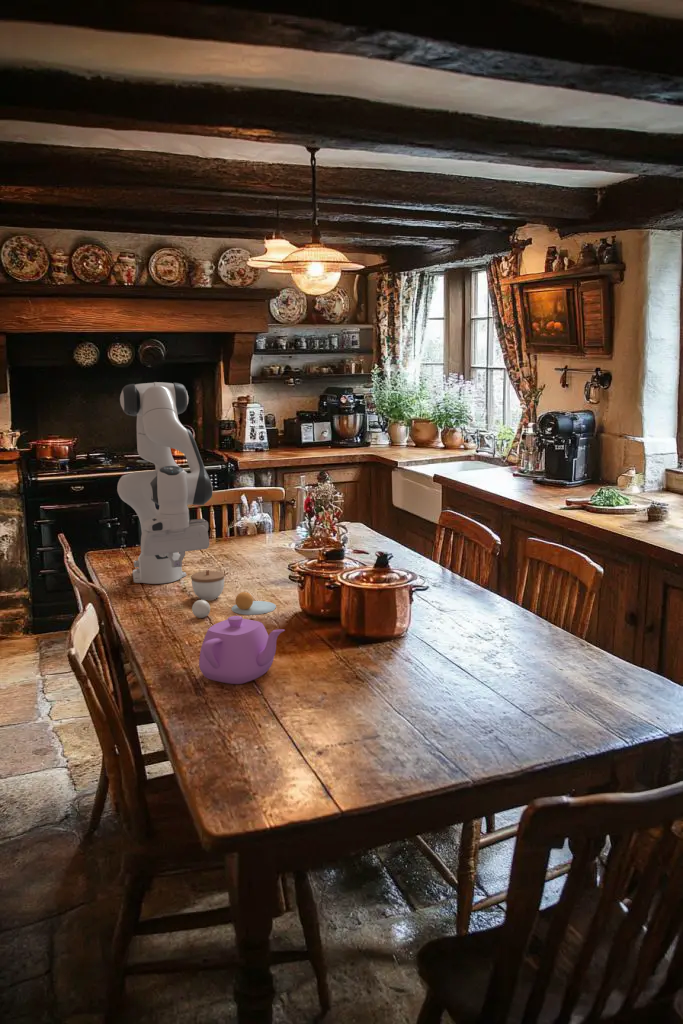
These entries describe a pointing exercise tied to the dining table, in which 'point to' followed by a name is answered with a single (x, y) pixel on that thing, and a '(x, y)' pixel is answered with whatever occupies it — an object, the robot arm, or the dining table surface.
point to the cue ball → (201, 608)
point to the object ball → (244, 600)
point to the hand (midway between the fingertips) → (176, 566)
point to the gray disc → (256, 608)
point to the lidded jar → (208, 584)
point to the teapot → (237, 650)
